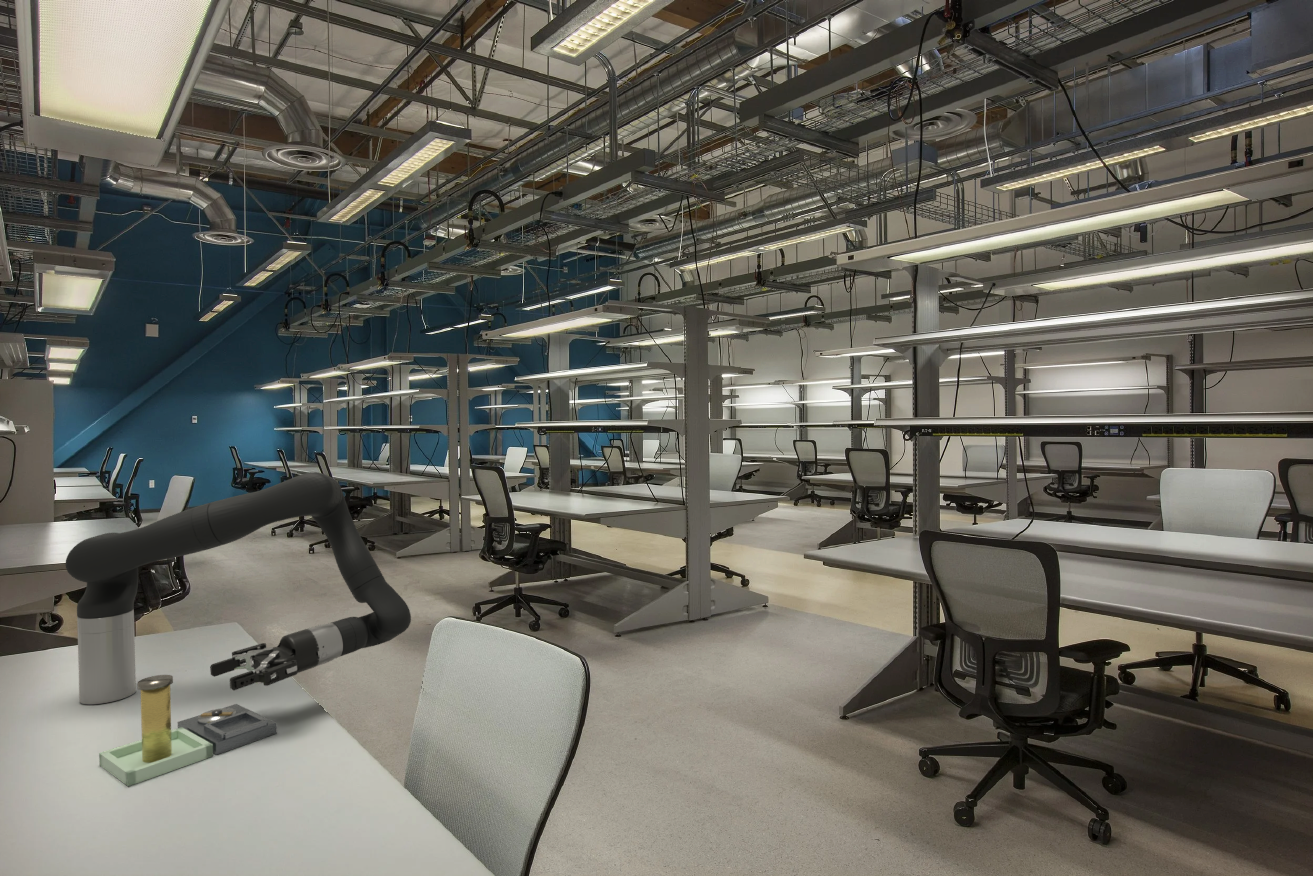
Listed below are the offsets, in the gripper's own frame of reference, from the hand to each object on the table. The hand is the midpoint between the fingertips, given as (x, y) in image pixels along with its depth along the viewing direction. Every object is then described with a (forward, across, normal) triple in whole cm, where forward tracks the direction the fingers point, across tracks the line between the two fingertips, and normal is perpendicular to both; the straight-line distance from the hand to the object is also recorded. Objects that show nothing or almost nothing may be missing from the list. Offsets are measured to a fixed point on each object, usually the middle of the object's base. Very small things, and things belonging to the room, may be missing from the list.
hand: (220, 677), depth 127 cm
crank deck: (0, 0, +10) cm, 11 cm away
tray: (+11, +2, +10) cm, 15 cm away
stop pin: (+11, +2, +9) cm, 14 cm away
